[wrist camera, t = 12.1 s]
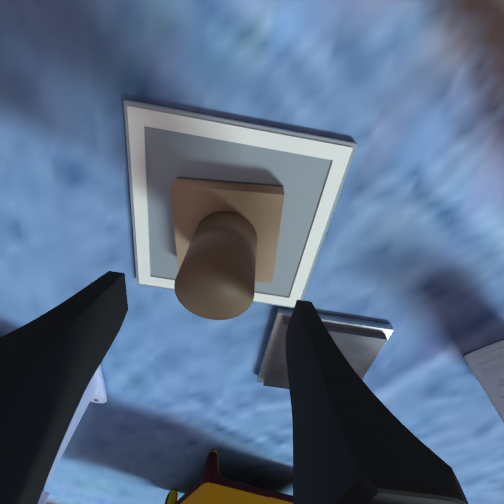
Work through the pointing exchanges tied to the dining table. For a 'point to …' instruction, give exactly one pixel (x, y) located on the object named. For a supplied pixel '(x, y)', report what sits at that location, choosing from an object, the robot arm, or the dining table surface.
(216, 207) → the stamp
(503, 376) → the skincare box
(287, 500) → the decorative lantern
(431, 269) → the dining table surface
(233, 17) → the dining table surface
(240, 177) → the marked board
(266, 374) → the ink pad
